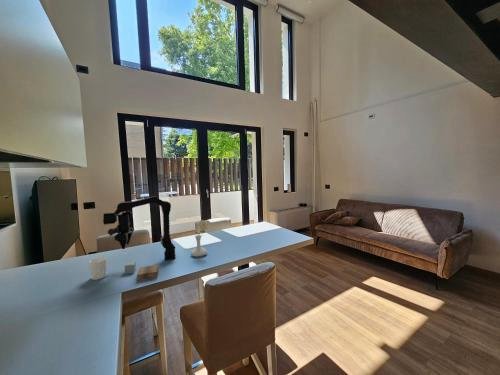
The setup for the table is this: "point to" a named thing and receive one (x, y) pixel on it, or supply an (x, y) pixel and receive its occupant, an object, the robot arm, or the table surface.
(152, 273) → the tan block
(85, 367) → the table surface
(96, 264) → the white cup
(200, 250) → the flower in vase
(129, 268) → the gray cube
